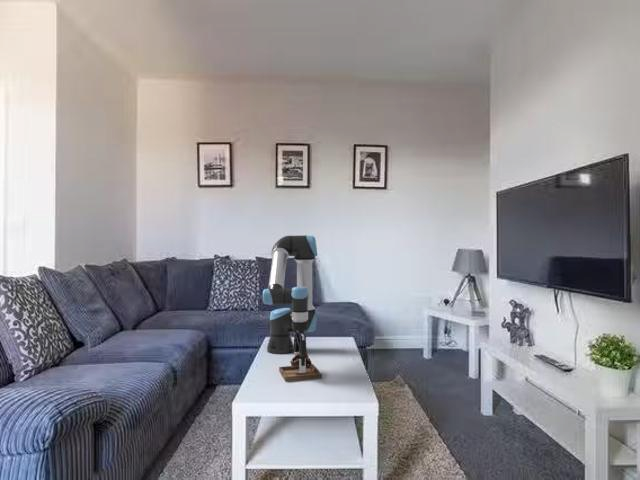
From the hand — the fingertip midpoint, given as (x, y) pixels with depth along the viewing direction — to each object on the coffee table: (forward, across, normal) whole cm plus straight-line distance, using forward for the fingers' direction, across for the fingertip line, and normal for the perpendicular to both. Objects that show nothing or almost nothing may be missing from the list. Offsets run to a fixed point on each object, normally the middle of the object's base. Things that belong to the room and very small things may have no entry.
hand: (299, 369), depth 192 cm
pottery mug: (+1, 0, +2) cm, 2 cm away
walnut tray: (+3, 0, 0) cm, 3 cm away
